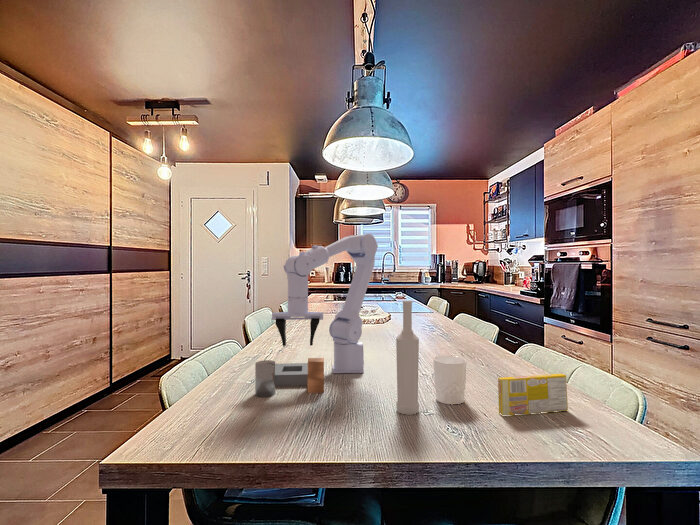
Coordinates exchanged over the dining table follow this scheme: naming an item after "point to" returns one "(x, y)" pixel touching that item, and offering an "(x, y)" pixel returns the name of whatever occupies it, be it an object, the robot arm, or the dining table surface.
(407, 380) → the bottle
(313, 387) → the square peg
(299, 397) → the dining table surface
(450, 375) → the white cup
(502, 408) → the candy box
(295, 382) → the bore block
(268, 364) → the round dowel
